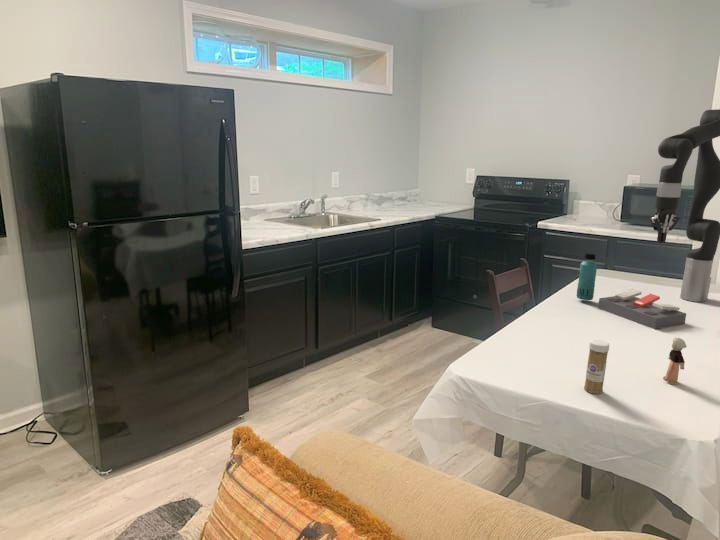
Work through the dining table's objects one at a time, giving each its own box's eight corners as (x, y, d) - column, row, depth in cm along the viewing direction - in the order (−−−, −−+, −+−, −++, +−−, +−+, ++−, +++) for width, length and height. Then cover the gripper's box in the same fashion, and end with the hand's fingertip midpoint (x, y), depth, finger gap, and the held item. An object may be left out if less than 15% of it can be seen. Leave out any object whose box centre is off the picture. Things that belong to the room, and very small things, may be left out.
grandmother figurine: (656, 376, 148) (663, 333, 145) (669, 375, 149) (676, 333, 146) (674, 388, 141) (682, 343, 138) (688, 388, 141) (696, 343, 138)
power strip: (626, 304, 213) (627, 293, 212) (684, 324, 191) (686, 312, 190) (598, 308, 208) (599, 297, 207) (654, 329, 185) (656, 317, 184)
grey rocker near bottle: (632, 293, 210) (632, 288, 209) (641, 295, 206) (641, 291, 206) (615, 299, 207) (615, 294, 206) (624, 302, 203) (624, 297, 203)
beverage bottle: (590, 299, 219) (596, 251, 214) (595, 304, 212) (601, 255, 208) (573, 298, 219) (579, 251, 215) (578, 303, 213) (584, 254, 208)
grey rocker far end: (668, 309, 196) (669, 304, 195) (678, 312, 192) (679, 307, 192) (651, 307, 192) (653, 302, 192) (661, 310, 188) (663, 305, 188)
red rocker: (650, 297, 202) (650, 293, 202) (660, 300, 199) (659, 296, 198) (633, 306, 200) (632, 301, 199) (642, 309, 196) (642, 304, 196)
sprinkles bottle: (582, 391, 139) (588, 343, 135) (585, 385, 142) (591, 337, 139) (601, 396, 136) (608, 346, 133) (604, 389, 140) (610, 341, 137)
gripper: (671, 193, 199) (664, 239, 204) (646, 194, 194) (639, 241, 199) (690, 195, 193) (682, 243, 197) (664, 196, 188) (657, 245, 192)
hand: (660, 242), depth 198 cm, fingers closed
